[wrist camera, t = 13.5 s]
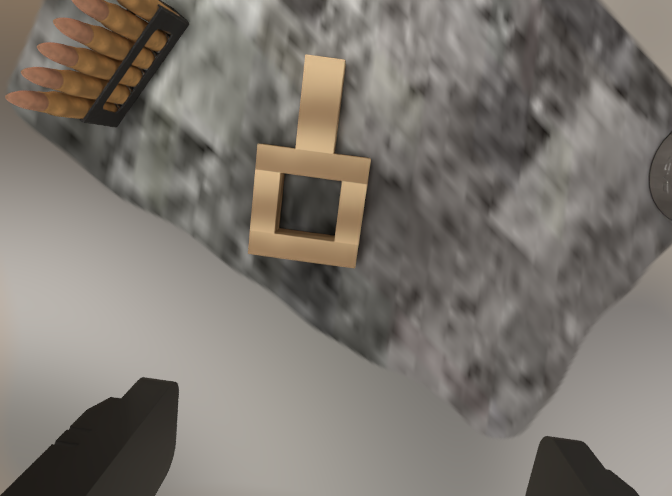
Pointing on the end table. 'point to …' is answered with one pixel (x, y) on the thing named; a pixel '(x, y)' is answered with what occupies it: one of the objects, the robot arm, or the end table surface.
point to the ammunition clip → (103, 60)
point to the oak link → (311, 175)
